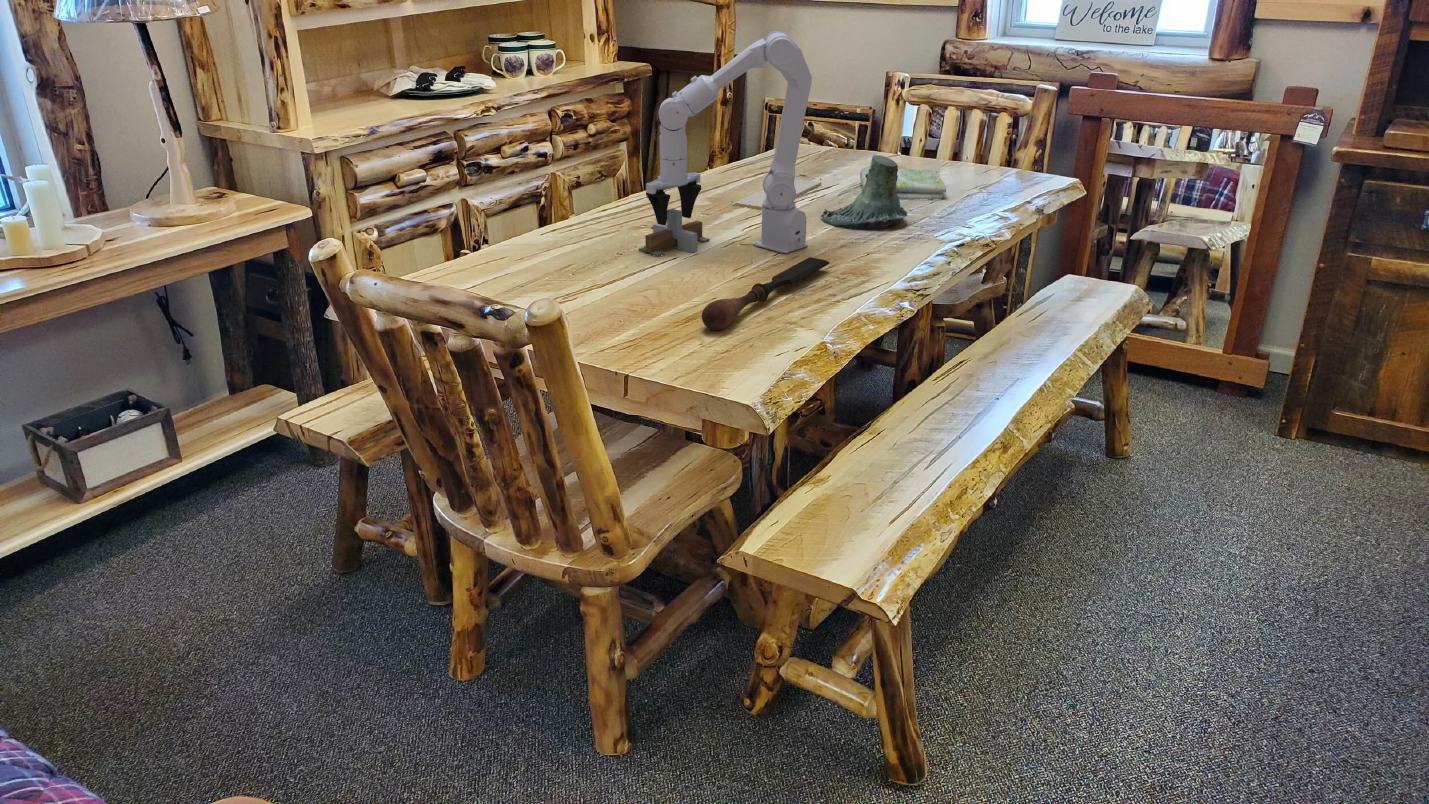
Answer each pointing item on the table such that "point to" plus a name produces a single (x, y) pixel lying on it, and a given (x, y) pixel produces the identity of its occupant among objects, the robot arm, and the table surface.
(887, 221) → the tree stump
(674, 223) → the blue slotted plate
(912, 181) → the towel
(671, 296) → the table surface
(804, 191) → the baseboard molding
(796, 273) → the chisel
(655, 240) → the walnut slotted plate
